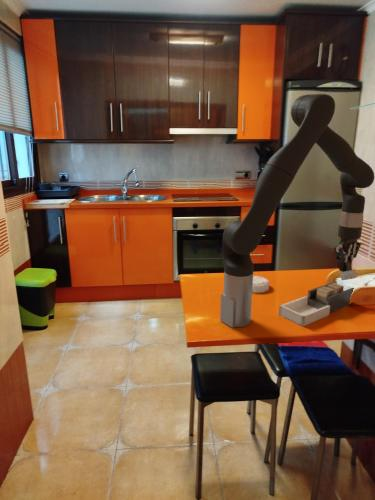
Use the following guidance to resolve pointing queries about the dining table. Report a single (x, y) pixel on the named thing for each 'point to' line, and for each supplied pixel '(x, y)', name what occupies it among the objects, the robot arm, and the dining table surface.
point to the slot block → (330, 299)
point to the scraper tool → (348, 272)
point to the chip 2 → (336, 288)
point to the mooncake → (260, 284)
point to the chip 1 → (324, 293)
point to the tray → (302, 312)
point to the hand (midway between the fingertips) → (344, 270)
